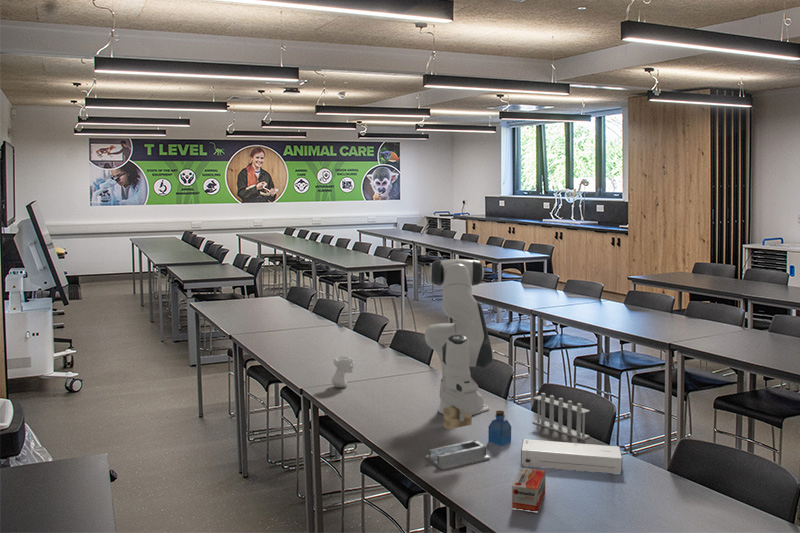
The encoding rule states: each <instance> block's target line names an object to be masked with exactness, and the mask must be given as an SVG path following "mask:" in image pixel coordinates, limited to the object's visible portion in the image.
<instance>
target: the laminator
mask: <svg viewBox="0 0 800 533" xmlns="http://www.w3.org/2000/svg"><path fill="white" fill-rule="evenodd" d="M520 463H521V466H522V465H523V466H522V467H528V466H535V467H534V468H539V467H545V468H544V469H550V468H555V469H554V470H561V469H562V470H565V471H573V470H576V471H575V472H584V471H591V472H590V473H595V472H607V473H621V474H622V473H623V454H622V450H621V446H616V445H615V446H614V445H603V444H591V443H580V442H578V443H577V442H566V441H564V442H563V441H552V440H541V439H527V438H522V444H521V450H520ZM607 473H606V474H607Z"/></svg>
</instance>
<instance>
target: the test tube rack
mask: <svg viewBox="0 0 800 533" xmlns="http://www.w3.org/2000/svg"><path fill="white" fill-rule="evenodd" d="M533 400H537V419H536V420H533V421H532V422H531V423H532V424H535V425H536V426H540V427H542V428H546V429H548V430H551V431H553V432H557V433H560V434H563V435H565V436H566V435H567V436H569V437H573V438H575V439H578V440H581V441H585V440H587V439H589V438H590V436H591V435H589V434H585V424H586V422H585V420H586V414H588V413H589V412H591V410H590V409H586V408H583V404H582V403H580V402H578V403H577V404H576V405H573V401H572V400H567V403H566V402H564V398H563V397H558V400H557V399H555V396H554V395H553V394H551V395H549V397H546V393H545V392H541V393H540V395H538V396H533ZM546 404H549V413H548V414H549V418H548V419H549V421H546ZM555 406H556V407H558V410H557V413H558V414H557V416H558V417H557V419H558V420H557V424H555V423H554V421H555V419H554V418H555ZM564 409H566V410H567V411H566V412H567V415H566V416H567V417H566V418H567V420H566V421H567V423H566V427H564V426H563V423H564V422H563V421H564V419H563V416H564V413H563V412H564ZM573 411H574V412H576V430H573V429H572V428H573V427H572V426H573V425H572V424H573V422H572V421H573Z"/></svg>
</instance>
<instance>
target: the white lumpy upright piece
mask: <svg viewBox="0 0 800 533" xmlns="http://www.w3.org/2000/svg"><path fill="white" fill-rule="evenodd" d="M333 365H334V366H335V367H336V370H335V373H334V375H333V376H332V378H331V384H332V385H333V387H335V388H347V387H348V382H347V380H346V378H345V375H346V373H347V374H351V373H353V371H354V367H355V364H354V362H353V358H351V357H349V356H346V355H341V356H338V357H337V358H336V357H334V358H333Z"/></svg>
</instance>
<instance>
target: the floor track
mask: <svg viewBox="0 0 800 533" xmlns="http://www.w3.org/2000/svg"><path fill="white" fill-rule="evenodd" d="M425 459H426V460H428V462H430V463H431V464H433V465H434V466H436V467H437V468H439V469H440V470H442V471H446V470H449V469H448V468H450V469H453V467H454V468H457V466H459V467H463V466H466V464H467V465H471V464H470V463H472V464H475V463H474V462H476V463H479V462H478V461H480V462H483V461H482V460H484V461H487V460H486V459H489V460H491V456H489V454H487V445H486V444H483V443H481V442H480V441H478V440H476V439H473V440H472V439H471V440H468V441H463V442H459V443H458V442H457V443H453V444H450V445H443V446H440V447H435V448H431V449H428V454H426V455H425ZM462 465H463V466H462ZM445 469H446V470H445Z"/></svg>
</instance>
